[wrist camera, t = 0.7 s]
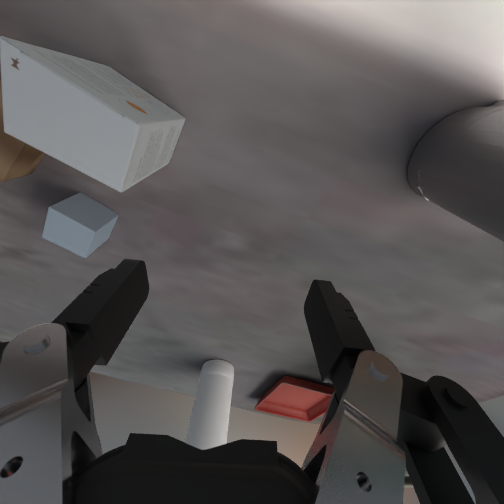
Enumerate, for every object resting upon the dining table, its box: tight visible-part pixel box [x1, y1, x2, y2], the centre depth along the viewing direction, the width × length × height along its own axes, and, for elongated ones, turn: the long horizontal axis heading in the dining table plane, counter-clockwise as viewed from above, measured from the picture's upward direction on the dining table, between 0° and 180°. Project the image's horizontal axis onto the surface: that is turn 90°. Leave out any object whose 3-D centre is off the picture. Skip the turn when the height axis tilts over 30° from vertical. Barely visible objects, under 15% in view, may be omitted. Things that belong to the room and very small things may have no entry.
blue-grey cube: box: [42, 192, 119, 258], centre depth 27 cm, size 5×5×5 cm
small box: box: [0, 36, 185, 193], centre depth 18 cm, size 8×6×10 cm
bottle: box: [185, 359, 234, 450], centre depth 39 cm, size 8×8×30 cm
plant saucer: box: [254, 376, 335, 422], centre depth 56 cm, size 18×18×3 cm
